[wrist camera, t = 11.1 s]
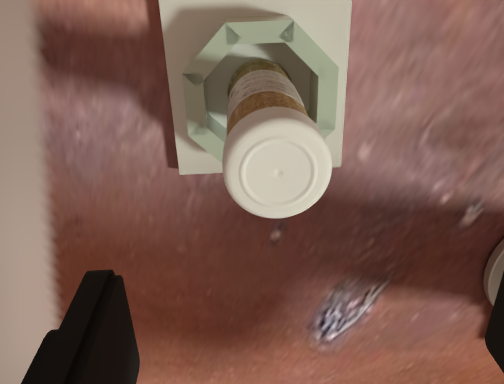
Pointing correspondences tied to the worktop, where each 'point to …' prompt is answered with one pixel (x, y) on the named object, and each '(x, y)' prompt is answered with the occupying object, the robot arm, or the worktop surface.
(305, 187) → the sprinkles bottle
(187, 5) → the bottle collar
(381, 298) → the worktop surface
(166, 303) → the worktop surface
